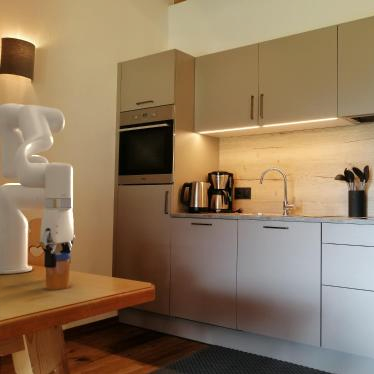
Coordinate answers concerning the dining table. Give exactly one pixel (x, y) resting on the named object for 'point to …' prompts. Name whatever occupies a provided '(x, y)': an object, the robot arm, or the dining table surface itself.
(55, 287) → the jar
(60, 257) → the lid
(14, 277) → the dining table surface
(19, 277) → the dining table surface
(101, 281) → the dining table surface
